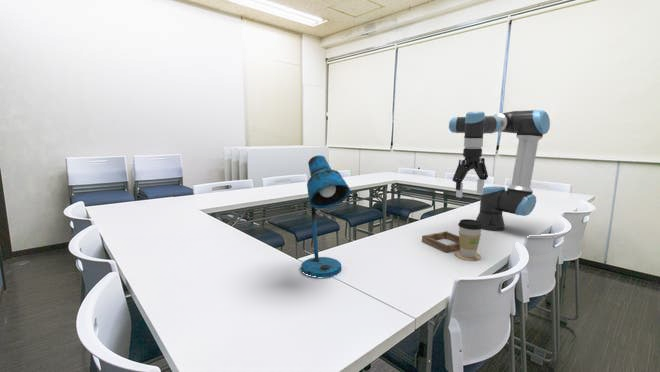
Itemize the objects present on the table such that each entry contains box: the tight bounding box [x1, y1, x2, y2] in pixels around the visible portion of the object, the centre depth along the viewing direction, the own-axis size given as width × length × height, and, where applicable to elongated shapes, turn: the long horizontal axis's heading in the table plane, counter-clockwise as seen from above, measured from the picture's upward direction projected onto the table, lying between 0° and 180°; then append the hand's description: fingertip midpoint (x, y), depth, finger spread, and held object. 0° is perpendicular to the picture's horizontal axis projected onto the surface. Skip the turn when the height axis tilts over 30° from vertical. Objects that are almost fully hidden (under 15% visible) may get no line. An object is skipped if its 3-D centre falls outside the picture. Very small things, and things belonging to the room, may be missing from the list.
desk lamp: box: [300, 155, 351, 278], centre depth 122 cm, size 16×22×45 cm
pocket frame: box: [421, 231, 460, 254], centre depth 155 cm, size 16×16×3 cm
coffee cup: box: [457, 218, 483, 258], centre depth 140 cm, size 10×10×15 cm
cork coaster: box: [454, 250, 482, 262], centre depth 142 cm, size 11×11×1 cm
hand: (469, 195), depth 144 cm, fingers open, 13 cm apart
